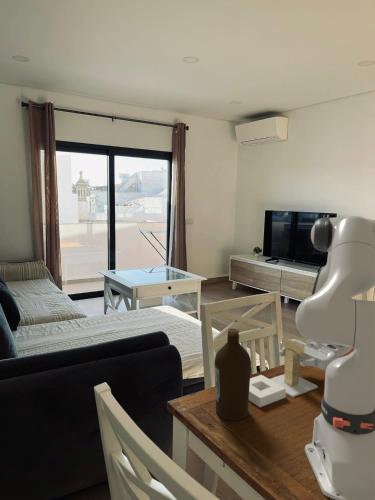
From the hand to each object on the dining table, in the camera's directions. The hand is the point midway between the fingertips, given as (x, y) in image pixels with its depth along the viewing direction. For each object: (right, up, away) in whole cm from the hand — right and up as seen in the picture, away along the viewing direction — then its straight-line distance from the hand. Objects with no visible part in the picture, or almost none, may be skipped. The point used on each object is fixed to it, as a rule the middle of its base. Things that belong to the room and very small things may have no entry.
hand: (290, 358), depth 121 cm
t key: (+1, -9, +2) cm, 9 cm away
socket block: (-11, -10, -5) cm, 16 cm away
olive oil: (-22, -12, -15) cm, 29 cm away
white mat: (+1, -9, +2) cm, 10 cm away
